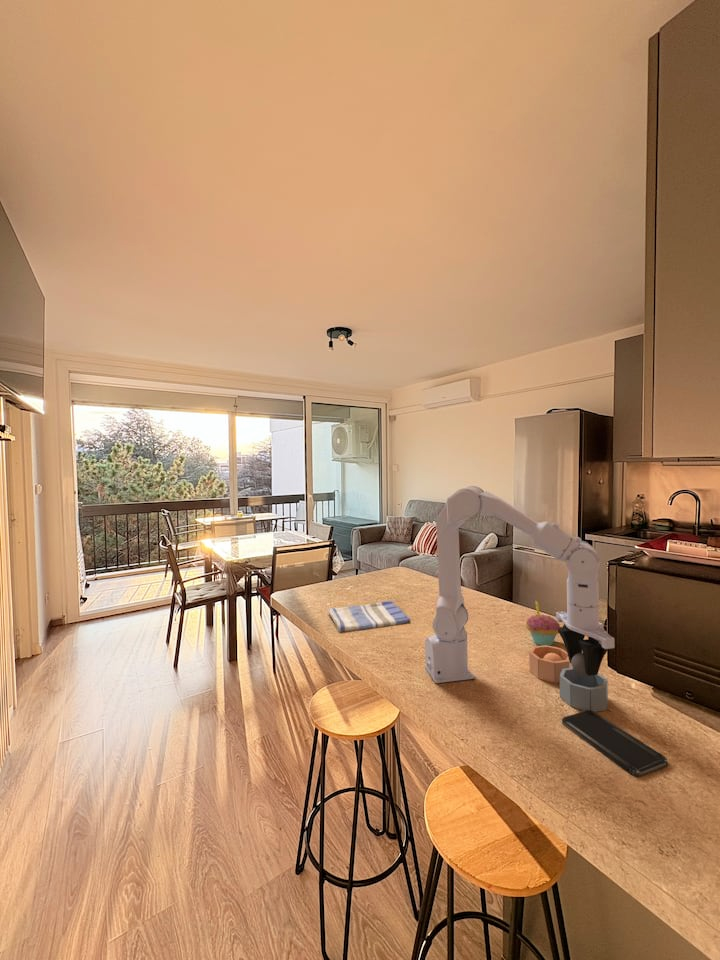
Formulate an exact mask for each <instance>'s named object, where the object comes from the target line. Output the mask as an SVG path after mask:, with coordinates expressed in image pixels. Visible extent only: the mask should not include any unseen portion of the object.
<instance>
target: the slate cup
mask: <svg viewBox="0 0 720 960" xmlns="http://www.w3.org/2000/svg"><path fill="white" fill-rule="evenodd" d="M559 698H560V699H562V700H563V701H564V702H565V703H566V704H567V705H568V706H570V707H572V708H575V709H579V710H582V711H586V710H590V711H594V712H596V713H597V712H601V711H602V712H603V711H607V710H608V704H609V680H608V678H606V677H605V676H604V675H602V674H601V673H599V672H598V675H591V676H581V675H579V674H577V673H576V672H575V671H574V669H573V668H564V669H562V671H561V673H560V682H559Z"/></svg>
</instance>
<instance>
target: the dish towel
mask: <svg viewBox="0 0 720 960" xmlns="http://www.w3.org/2000/svg"><path fill="white" fill-rule="evenodd" d="M327 612H328V615H329V616H330V618H331V617H332V618H331V620H332V619H333V620H332V621H333V623H334V625H335V627H336V630H337V632H338V633H343V632H354V631H360V630H361V631H362V630H369V629H375V628H381V627H383V628H384V627H388V626H389V627H390V626H396V625H403V624H408V623H410V622H411V621H412V620H411V619H410V618H409V617H408V615H407V614H406V613H405V612H404V611H403V610H402V609H401V608H400V607H398V605H396V604H395V603H394V601H391V600H385V601H379V602H372V603H369V604H364V605H359V604H358V605H350V606H343V607H330V608H329V609H328V608H327Z"/></svg>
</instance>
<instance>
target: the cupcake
mask: <svg viewBox="0 0 720 960" xmlns="http://www.w3.org/2000/svg"><path fill="white" fill-rule="evenodd" d="M535 608H536V609H535V610H536V614H535V615H532V616H530V617H529V618H527V620H526V623H525V625H526V626H525V627H526V630H528V631H529V632H530V635H531V637H532V640H533V643H535V644H536V645H537V646H543V645H548V646H552V645H553V644H554V642H555V639H556V636H557V635H559V632H558V628H559V627H561V626H560V622H558V621H556V619H555V618H553V617H551V616H550V615H546V614H545V615H544V614H541V613H540V607H539V602H538V601H537V598H536V599H535Z"/></svg>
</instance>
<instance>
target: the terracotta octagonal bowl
mask: <svg viewBox="0 0 720 960" xmlns="http://www.w3.org/2000/svg"><path fill="white" fill-rule="evenodd" d="M548 653H555V654H557V655H559V656H560V657H561V658H562V661H550V660H546V659H543V658H544V656H545V655H546V654H548ZM528 654H529V672H530V673H531V674H532V675H534V676H535V678H537V679H539V680H542V681H545V682H551V683H554V684H558V683H559V684H560V673H561V671H562V669H564V668H572V664H571V663H570V661H569V658H568V654H567V650H566V649H565V650H564V649H563V648H560V647H555V646H552V645H551V646H548V645H543V646H541V645H536V646H532V648H530V650H529V652H528Z"/></svg>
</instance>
